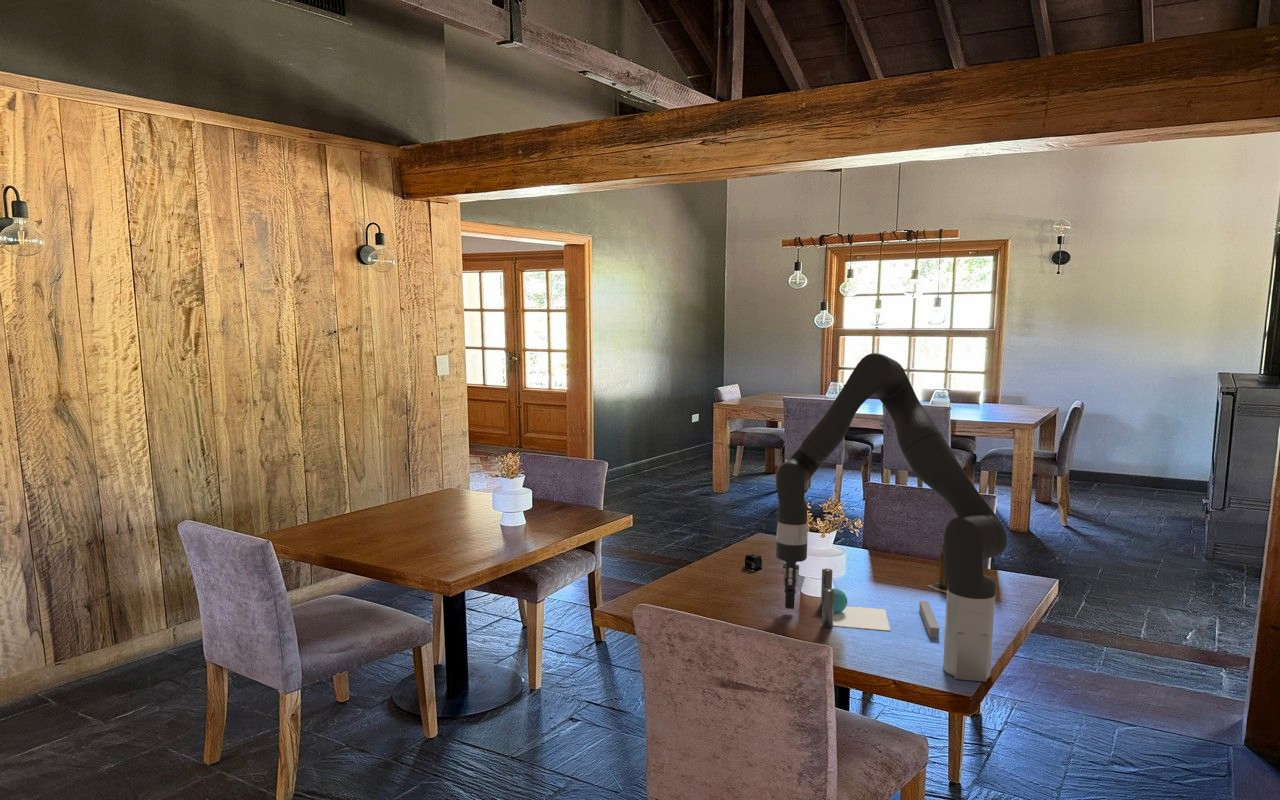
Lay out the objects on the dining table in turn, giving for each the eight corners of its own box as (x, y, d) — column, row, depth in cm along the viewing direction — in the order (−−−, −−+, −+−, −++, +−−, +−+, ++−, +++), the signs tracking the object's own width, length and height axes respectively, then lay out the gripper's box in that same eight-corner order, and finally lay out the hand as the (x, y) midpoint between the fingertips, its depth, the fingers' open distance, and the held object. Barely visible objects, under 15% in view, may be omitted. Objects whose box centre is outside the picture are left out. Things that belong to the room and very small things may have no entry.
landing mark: (890, 631, 189) (890, 630, 189) (829, 625, 192) (829, 625, 192) (885, 610, 202) (885, 609, 202) (828, 605, 205) (828, 604, 205)
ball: (850, 591, 197) (829, 598, 196) (853, 612, 199) (832, 620, 197) (837, 581, 203) (816, 589, 201) (839, 602, 204) (819, 610, 203)
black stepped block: (729, 567, 238) (729, 552, 237) (745, 562, 242) (746, 548, 242) (761, 578, 228) (761, 562, 228) (777, 573, 233) (778, 557, 233)
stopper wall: (938, 638, 185) (939, 628, 184) (929, 637, 185) (930, 627, 185) (927, 610, 202) (928, 601, 202) (919, 610, 202) (919, 600, 202)
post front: (832, 629, 189) (834, 592, 188) (821, 628, 190) (823, 591, 189) (832, 625, 192) (834, 588, 191) (821, 624, 192) (822, 588, 191)
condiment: (969, 589, 219) (971, 546, 218) (949, 594, 215) (952, 550, 213) (946, 581, 225) (948, 539, 224) (926, 586, 221) (928, 544, 219)
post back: (831, 606, 205) (832, 572, 204) (820, 605, 205) (822, 571, 204) (831, 602, 207) (832, 569, 206) (820, 602, 208) (821, 568, 207)
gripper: (807, 548, 190) (804, 618, 192) (807, 533, 203) (805, 599, 205) (775, 545, 192) (773, 615, 194) (777, 531, 205) (775, 597, 206)
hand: (789, 607), depth 199 cm, fingers closed
